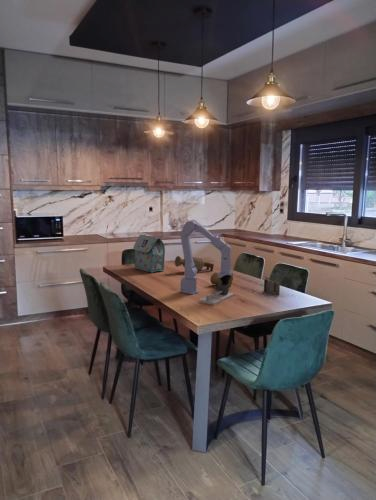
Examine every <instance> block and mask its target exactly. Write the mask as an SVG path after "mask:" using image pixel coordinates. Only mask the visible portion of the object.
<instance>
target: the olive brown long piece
mask: <svg viewBox="0 0 376 500" xmlns="http://www.w3.org/2000/svg"><path fill="white" fill-rule="evenodd" d="M192 257H193V262H194V264H195V267H196V268H197V271H201V270H203V268H204V267H205V268H206V271H207V270H208V271H209V270H210V272H213V271H214V267H215V265H214V263H210V262H208V261H204V259H203V257H195V256H192ZM174 264H175V267H180V266H181V265H182V266H183V267H184V269H185V259H184V258H182V257H181V256H180V255H177V256H175V260H174Z"/></svg>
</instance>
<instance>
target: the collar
mask: <svg viewBox="0 0 376 500" xmlns="http://www.w3.org/2000/svg"><path fill="white" fill-rule="evenodd" d="M220 290H223V292H222V293H220V294H224V295H227V294H228V292H229V288H228V285H223V284H218V285H217V284H216V292H218V291H220Z"/></svg>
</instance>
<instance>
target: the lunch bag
mask: <svg viewBox="0 0 376 500" xmlns="http://www.w3.org/2000/svg"><path fill="white" fill-rule="evenodd" d="M133 250H134V269H136V270H138V269H139V271H143V272H147V273H155V272H164V271H165V254H166V248H165V244H164V241H163V240H162V238H161V237H156V236H152V235H147V234H140V235H138V237H137V239H136V241H135V243H134V244H133Z"/></svg>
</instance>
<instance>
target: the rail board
mask: <svg viewBox="0 0 376 500" xmlns="http://www.w3.org/2000/svg"><path fill="white" fill-rule="evenodd" d="M222 292H223V290H220V291H218V292H217V291H216V292H213V293H211V294H209V295H208V294H207V295H206V296H205V297H202V298H200V299H198V300H199V301H198V302H199V303H202V304H208V305H212V306H215V305H217V304H220V303H222V302H224V301H226V300H228V299H231V298H232V297H234V296H235V293H234V292H229V291H228V294H227V295H224V294H220V293H222Z"/></svg>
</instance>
